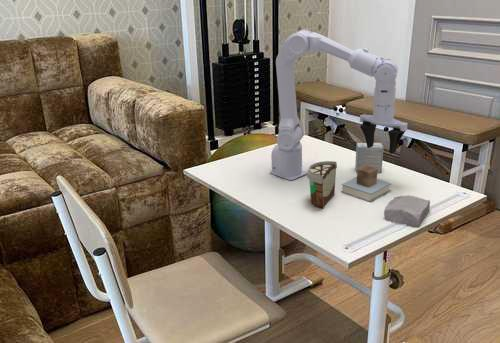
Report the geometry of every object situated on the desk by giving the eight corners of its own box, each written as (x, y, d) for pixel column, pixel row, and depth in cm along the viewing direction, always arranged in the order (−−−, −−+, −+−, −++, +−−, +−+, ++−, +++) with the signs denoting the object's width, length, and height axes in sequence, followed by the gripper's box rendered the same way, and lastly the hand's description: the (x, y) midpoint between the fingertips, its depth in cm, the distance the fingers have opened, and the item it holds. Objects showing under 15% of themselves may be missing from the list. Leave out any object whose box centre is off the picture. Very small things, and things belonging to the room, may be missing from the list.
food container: (315, 190, 145) (316, 158, 142) (336, 193, 142) (337, 161, 139) (299, 207, 135) (299, 173, 131) (321, 211, 132) (321, 176, 129)
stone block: (381, 227, 127) (421, 228, 122) (379, 209, 126) (419, 210, 120) (394, 210, 137) (432, 211, 131) (392, 194, 135) (430, 193, 130)
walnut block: (356, 183, 142) (357, 169, 141) (364, 179, 145) (365, 165, 143) (368, 187, 139) (369, 172, 138) (376, 183, 142) (377, 168, 140)
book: (341, 192, 143) (341, 184, 142) (361, 181, 150) (362, 174, 149) (370, 202, 136) (371, 193, 135) (390, 191, 143) (391, 183, 142)
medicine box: (379, 168, 160) (381, 142, 156) (382, 173, 155) (383, 147, 152) (354, 168, 160) (356, 142, 157) (356, 173, 156) (357, 147, 153)
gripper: (414, 105, 137) (410, 151, 142) (370, 97, 147) (368, 141, 152) (401, 110, 133) (397, 158, 138) (356, 102, 143) (354, 146, 148)
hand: (381, 149), depth 145 cm, fingers open, 7 cm apart
